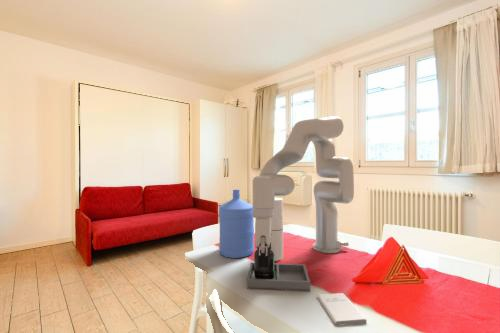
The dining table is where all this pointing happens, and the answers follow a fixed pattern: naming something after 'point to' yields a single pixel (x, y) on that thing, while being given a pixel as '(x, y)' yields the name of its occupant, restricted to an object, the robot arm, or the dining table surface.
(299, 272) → the sorting tray
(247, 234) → the water jug
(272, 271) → the supplement bottle
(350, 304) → the external hard drive
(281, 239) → the cylindrical container
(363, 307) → the dining table surface
